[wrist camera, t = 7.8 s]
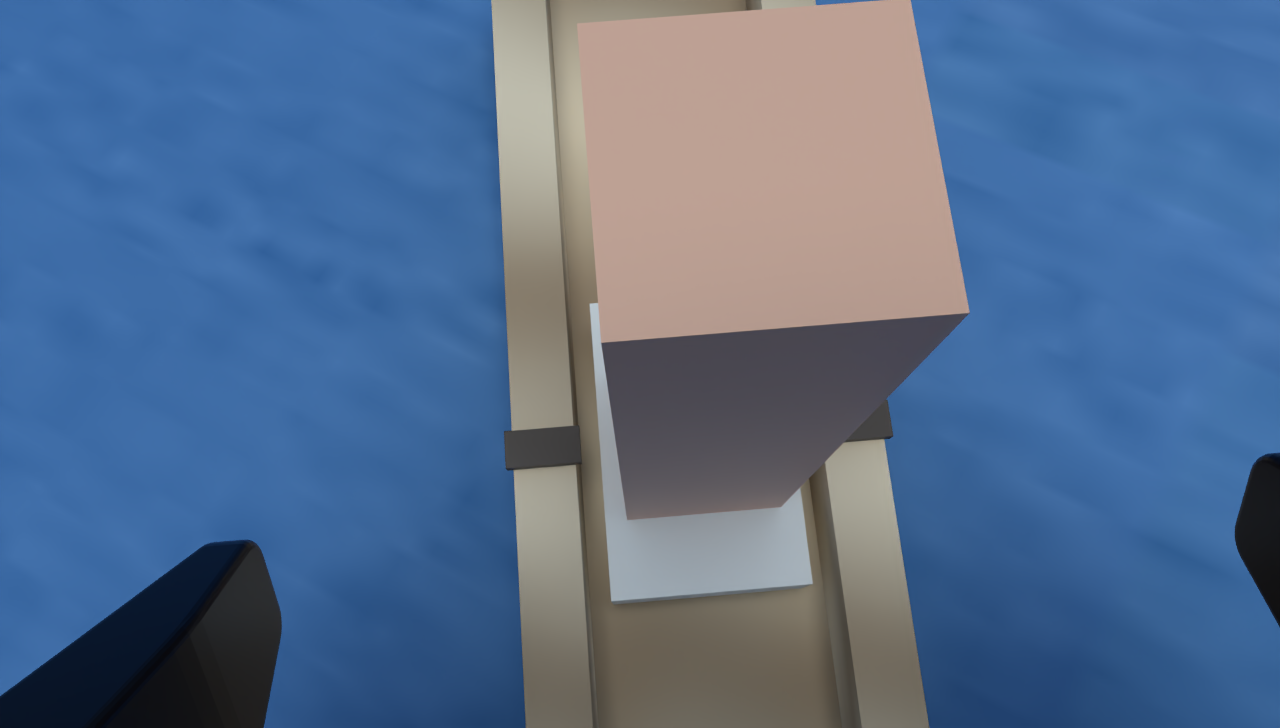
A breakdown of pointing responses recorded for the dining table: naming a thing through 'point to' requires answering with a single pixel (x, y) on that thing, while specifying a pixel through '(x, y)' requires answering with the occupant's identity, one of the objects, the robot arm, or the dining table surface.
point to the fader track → (573, 488)
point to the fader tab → (752, 273)
